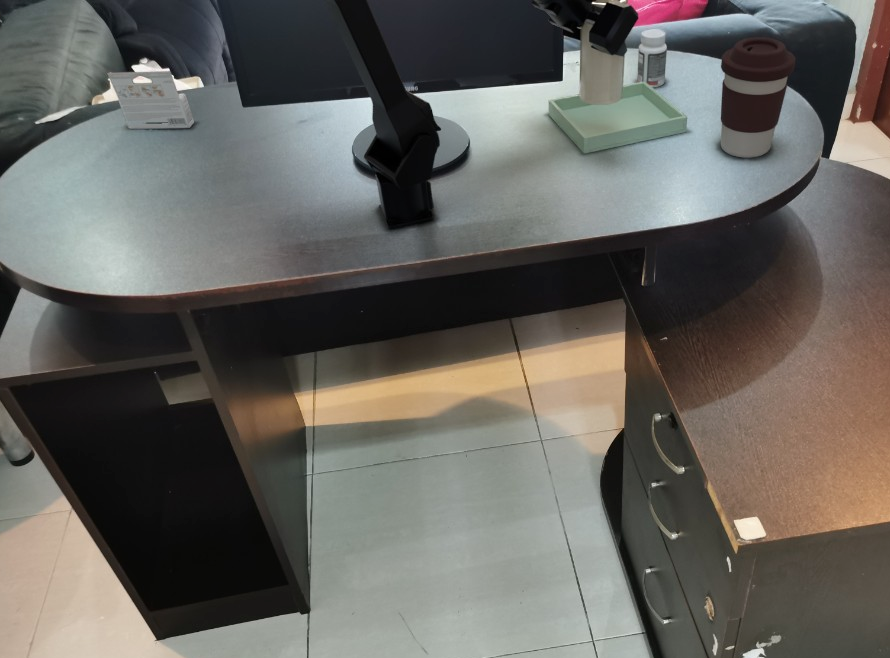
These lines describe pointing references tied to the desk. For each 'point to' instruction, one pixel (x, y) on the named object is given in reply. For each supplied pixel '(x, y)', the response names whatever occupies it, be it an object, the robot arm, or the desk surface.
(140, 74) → the ink cartridge box
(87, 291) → the desk surface
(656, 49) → the pill bottle
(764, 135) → the coffee cup
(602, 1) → the tumbler
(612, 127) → the tray
